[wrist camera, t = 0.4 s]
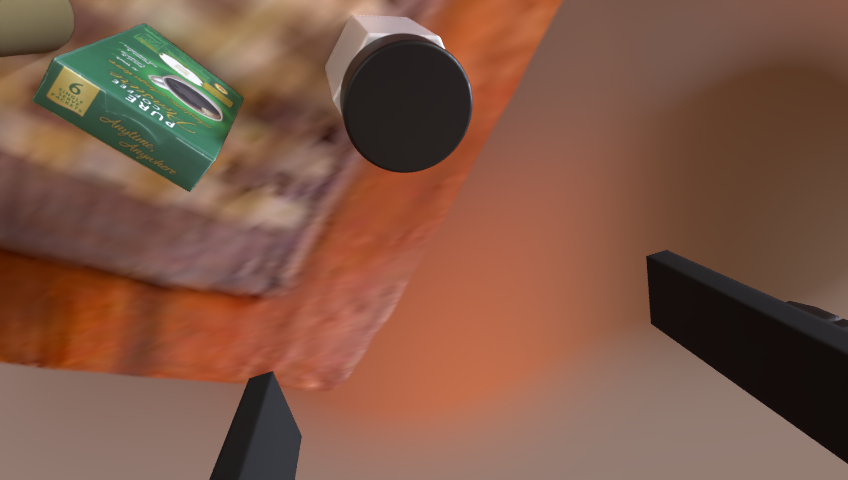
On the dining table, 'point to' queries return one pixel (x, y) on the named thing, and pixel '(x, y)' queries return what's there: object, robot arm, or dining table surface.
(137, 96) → the coffee box
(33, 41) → the olive peanut shape
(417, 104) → the jar
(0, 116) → the dining table surface
